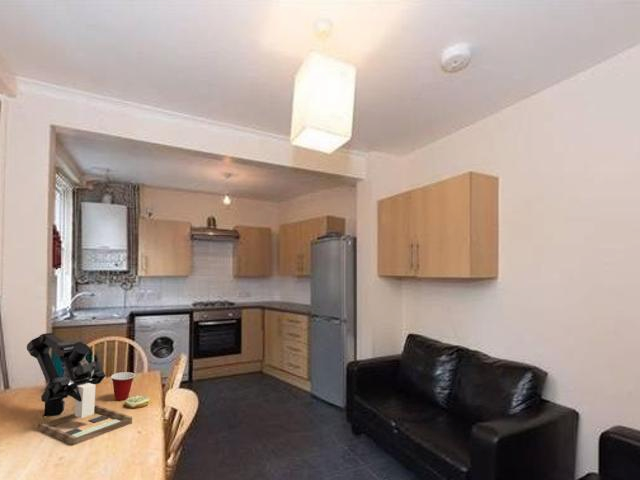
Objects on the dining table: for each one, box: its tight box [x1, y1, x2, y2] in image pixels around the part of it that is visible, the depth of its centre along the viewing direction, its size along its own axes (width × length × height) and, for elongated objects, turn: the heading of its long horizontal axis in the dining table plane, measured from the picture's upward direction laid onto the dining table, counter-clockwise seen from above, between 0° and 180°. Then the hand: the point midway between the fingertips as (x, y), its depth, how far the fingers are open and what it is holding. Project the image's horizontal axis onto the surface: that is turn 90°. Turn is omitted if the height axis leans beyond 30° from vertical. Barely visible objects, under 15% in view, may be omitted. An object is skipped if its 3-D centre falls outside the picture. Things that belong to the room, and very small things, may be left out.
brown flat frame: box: [37, 405, 133, 446], centre depth 153 cm, size 26×24×2 cm
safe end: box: [73, 419, 120, 437], centre depth 149 cm, size 8×21×1 cm, turn 151°
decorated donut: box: [124, 394, 150, 409], centre depth 178 cm, size 10×11×4 cm
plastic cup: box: [110, 371, 136, 402], centre depth 185 cm, size 11×11×12 cm
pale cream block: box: [74, 383, 97, 419], centre depth 155 cm, size 5×5×12 cm
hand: (87, 399), depth 154 cm, fingers closed on pale cream block, 5 cm apart
